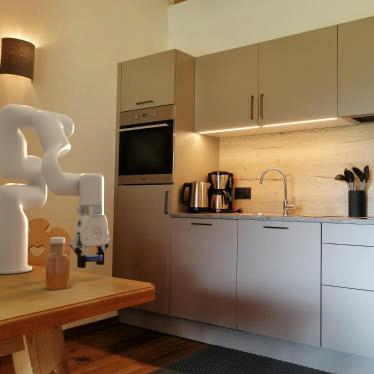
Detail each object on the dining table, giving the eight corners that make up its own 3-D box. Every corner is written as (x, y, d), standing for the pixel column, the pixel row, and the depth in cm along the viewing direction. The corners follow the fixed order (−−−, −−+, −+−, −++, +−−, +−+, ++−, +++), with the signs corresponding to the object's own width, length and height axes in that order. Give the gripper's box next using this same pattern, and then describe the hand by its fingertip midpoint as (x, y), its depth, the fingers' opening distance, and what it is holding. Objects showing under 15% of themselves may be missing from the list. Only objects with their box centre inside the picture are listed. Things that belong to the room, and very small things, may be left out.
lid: (104, 261, 135) (104, 255, 135) (81, 262, 132) (81, 257, 132) (99, 258, 141) (99, 253, 141) (77, 259, 138) (77, 254, 138)
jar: (41, 287, 123) (41, 255, 123) (62, 284, 128) (63, 253, 128) (52, 290, 119) (52, 257, 119) (73, 287, 124) (74, 255, 124)
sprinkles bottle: (65, 278, 137) (66, 237, 138) (50, 280, 135) (51, 238, 135) (63, 276, 141) (63, 236, 141) (48, 278, 138) (48, 237, 139)
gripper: (77, 211, 128) (76, 270, 127) (119, 210, 143) (119, 263, 142) (60, 211, 131) (60, 269, 131) (103, 210, 146) (103, 262, 146)
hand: (91, 265), depth 136 cm, fingers closed on lid, 6 cm apart
